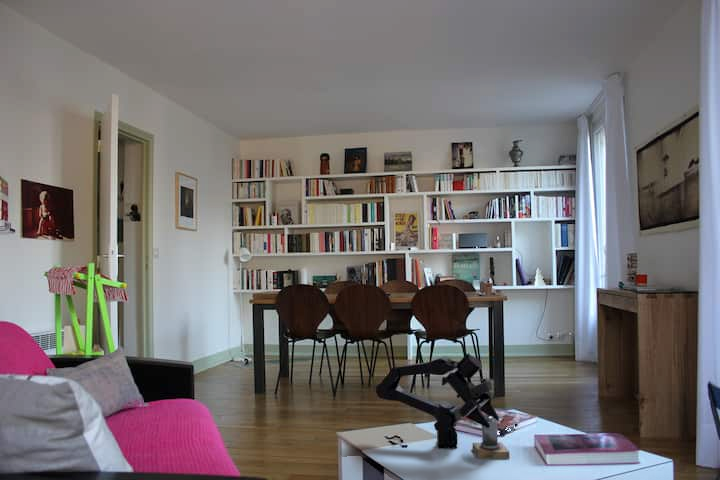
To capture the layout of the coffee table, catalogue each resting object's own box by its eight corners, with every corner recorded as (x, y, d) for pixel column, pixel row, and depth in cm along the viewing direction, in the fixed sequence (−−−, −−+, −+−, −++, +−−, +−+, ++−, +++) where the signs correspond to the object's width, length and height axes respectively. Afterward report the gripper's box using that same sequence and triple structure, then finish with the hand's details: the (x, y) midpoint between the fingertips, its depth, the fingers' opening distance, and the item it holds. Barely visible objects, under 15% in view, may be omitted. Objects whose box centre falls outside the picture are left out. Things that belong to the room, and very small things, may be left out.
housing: (483, 450, 183) (482, 419, 184) (478, 444, 190) (478, 414, 190) (501, 449, 183) (500, 419, 184) (496, 443, 190) (496, 414, 190)
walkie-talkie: (508, 438, 203) (520, 424, 221) (508, 426, 204) (520, 413, 221) (484, 435, 208) (498, 422, 225) (484, 423, 208) (498, 411, 225)
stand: (479, 458, 181) (478, 452, 181) (472, 448, 191) (472, 442, 191) (509, 458, 181) (509, 451, 182) (501, 448, 191) (501, 442, 192)
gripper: (467, 376, 182) (501, 414, 176) (486, 367, 198) (518, 402, 191) (445, 398, 186) (477, 436, 179) (466, 387, 202) (496, 422, 195)
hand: (493, 423), depth 186 cm, fingers open, 9 cm apart
